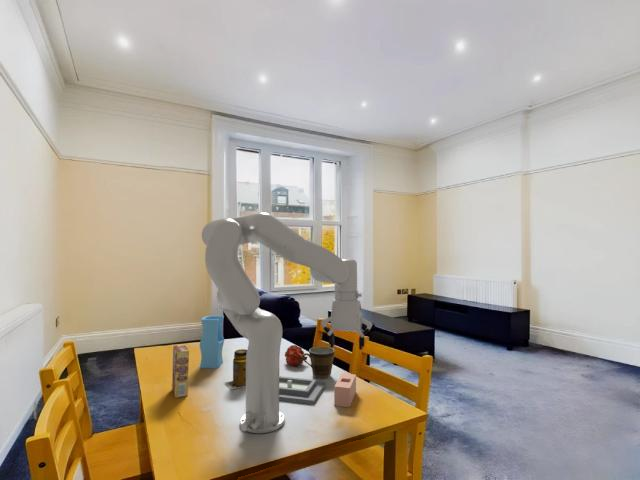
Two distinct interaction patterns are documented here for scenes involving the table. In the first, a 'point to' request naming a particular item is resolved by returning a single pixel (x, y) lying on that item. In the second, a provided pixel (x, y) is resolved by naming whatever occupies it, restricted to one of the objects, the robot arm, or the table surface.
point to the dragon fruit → (294, 355)
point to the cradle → (300, 389)
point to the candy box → (180, 371)
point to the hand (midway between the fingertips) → (346, 347)
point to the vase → (211, 342)
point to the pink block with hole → (345, 390)
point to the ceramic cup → (321, 361)
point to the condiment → (238, 370)
